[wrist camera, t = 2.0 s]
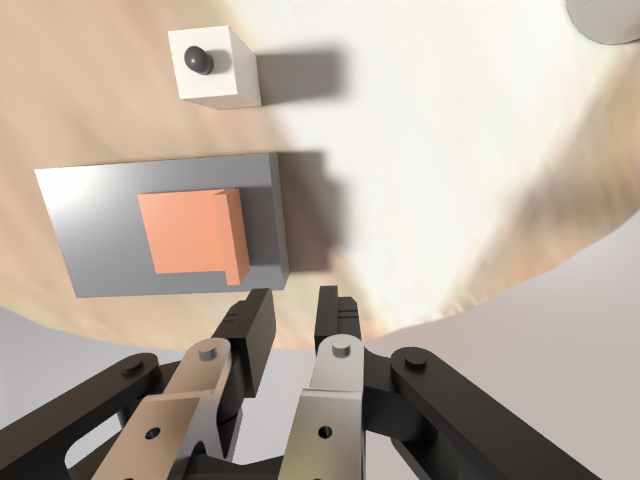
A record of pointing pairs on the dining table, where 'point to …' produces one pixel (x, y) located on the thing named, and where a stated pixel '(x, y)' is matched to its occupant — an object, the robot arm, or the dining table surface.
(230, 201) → the shutter
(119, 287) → the socket block
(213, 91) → the plug
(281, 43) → the dining table surface
